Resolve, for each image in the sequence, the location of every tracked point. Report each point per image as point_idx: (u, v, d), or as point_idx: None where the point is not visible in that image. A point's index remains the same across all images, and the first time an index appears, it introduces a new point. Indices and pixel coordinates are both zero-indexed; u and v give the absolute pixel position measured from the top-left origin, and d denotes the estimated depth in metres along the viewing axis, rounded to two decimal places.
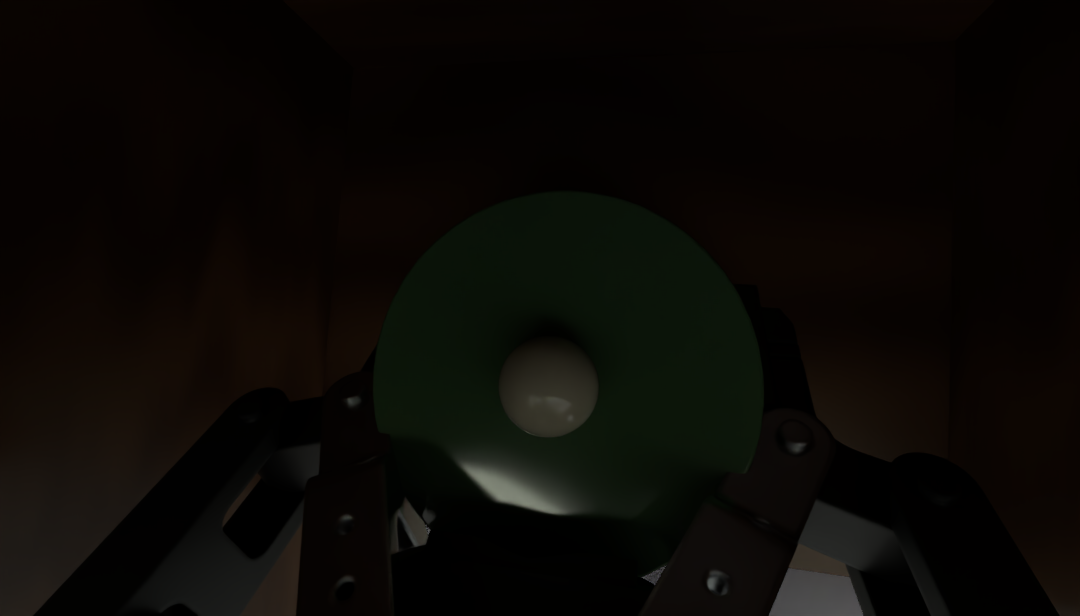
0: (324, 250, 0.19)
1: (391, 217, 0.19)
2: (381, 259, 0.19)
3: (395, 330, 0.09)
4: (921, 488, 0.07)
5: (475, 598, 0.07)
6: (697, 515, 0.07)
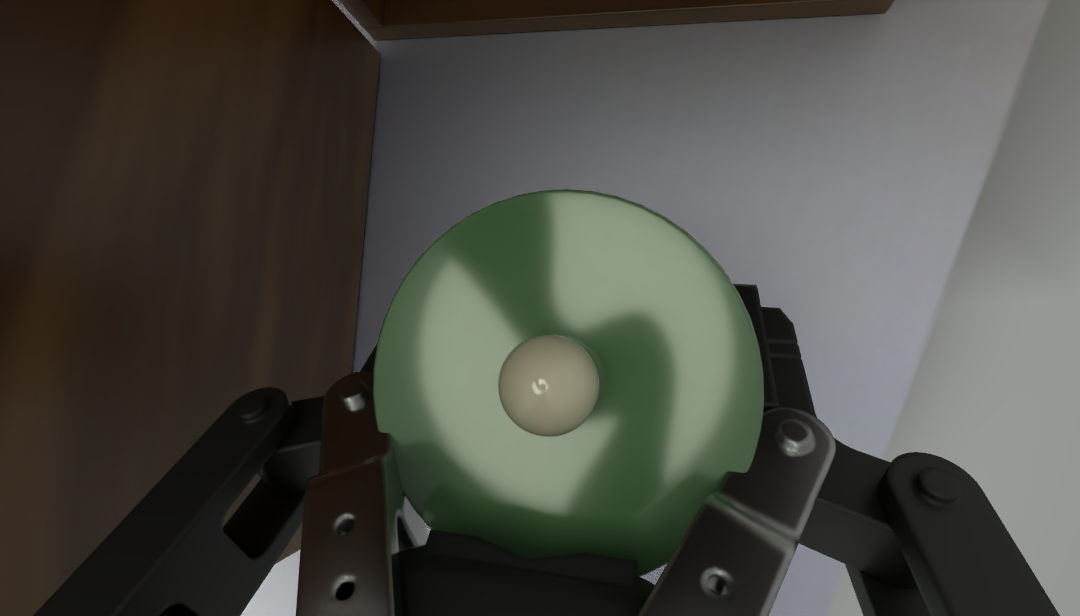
0: None
1: None
2: None
3: (395, 329, 0.09)
4: (921, 488, 0.07)
5: (475, 598, 0.07)
6: (697, 515, 0.07)
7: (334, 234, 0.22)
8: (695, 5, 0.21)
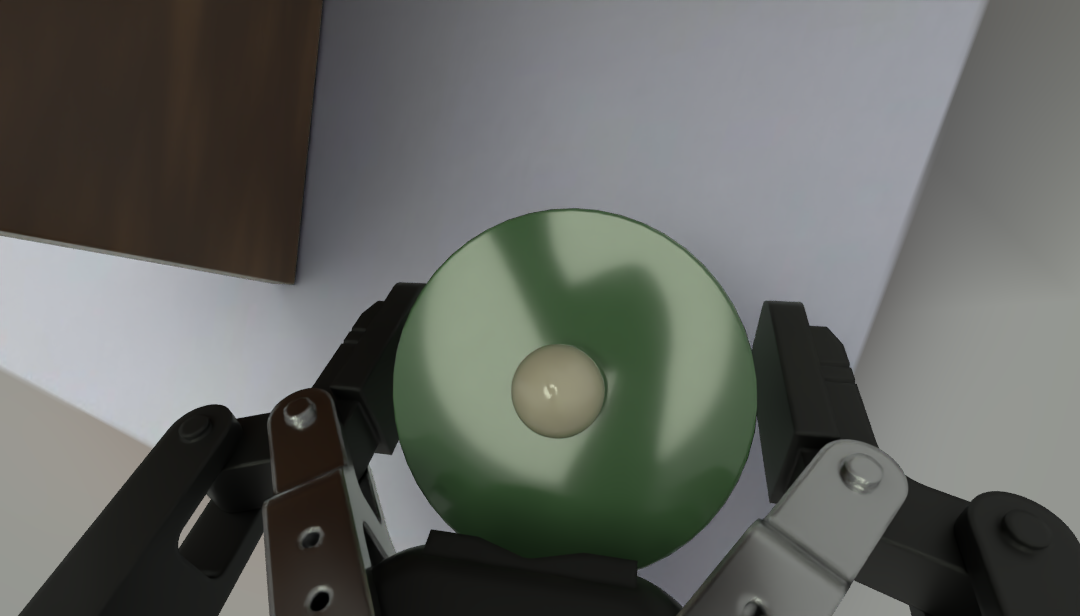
0: None
1: None
2: None
3: (413, 338, 0.10)
4: (1008, 532, 0.07)
5: (475, 598, 0.07)
6: (742, 538, 0.07)
7: None
8: None
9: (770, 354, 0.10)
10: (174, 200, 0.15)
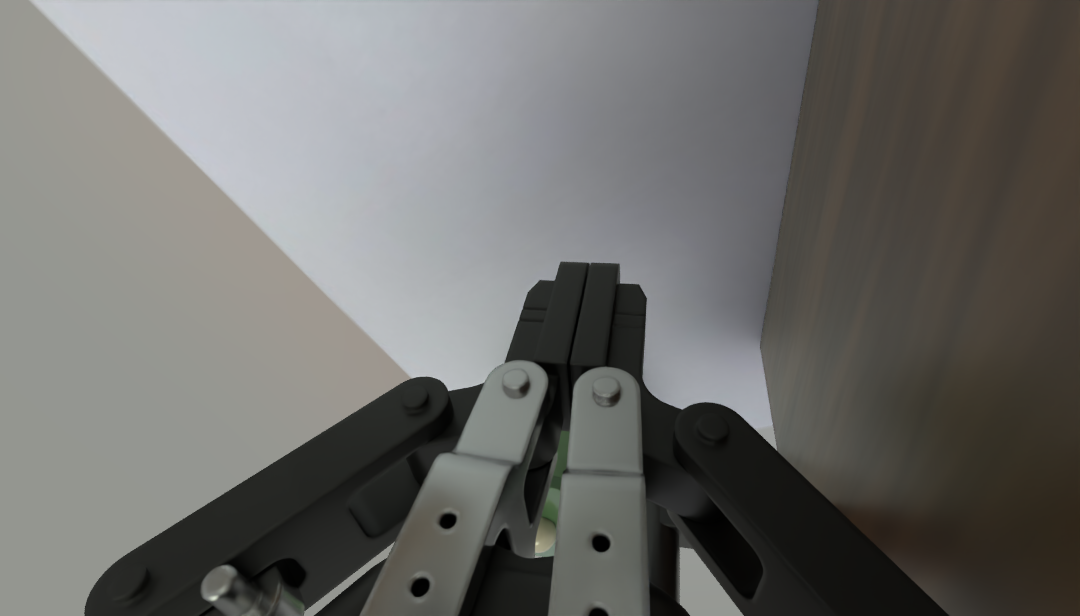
0: None
1: None
2: None
3: None
4: (698, 430, 0.09)
5: (475, 598, 0.07)
6: (561, 493, 0.07)
7: None
8: None
9: None
10: None
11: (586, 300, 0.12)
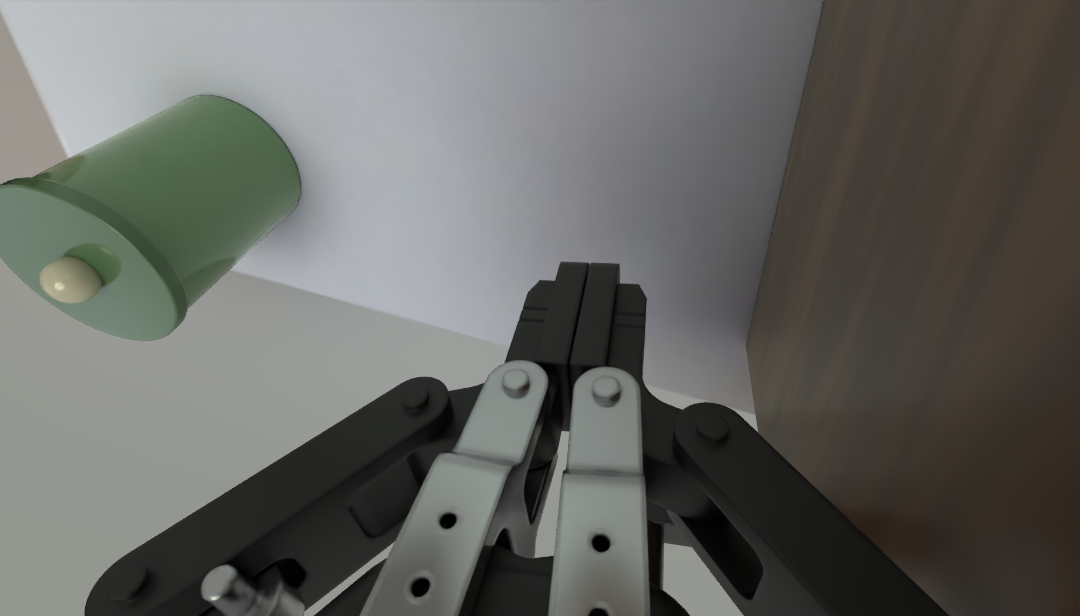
0: None
1: None
2: None
3: (37, 197, 0.16)
4: (698, 430, 0.09)
5: (475, 598, 0.07)
6: (561, 494, 0.07)
7: None
8: None
9: None
10: None
11: (586, 300, 0.12)
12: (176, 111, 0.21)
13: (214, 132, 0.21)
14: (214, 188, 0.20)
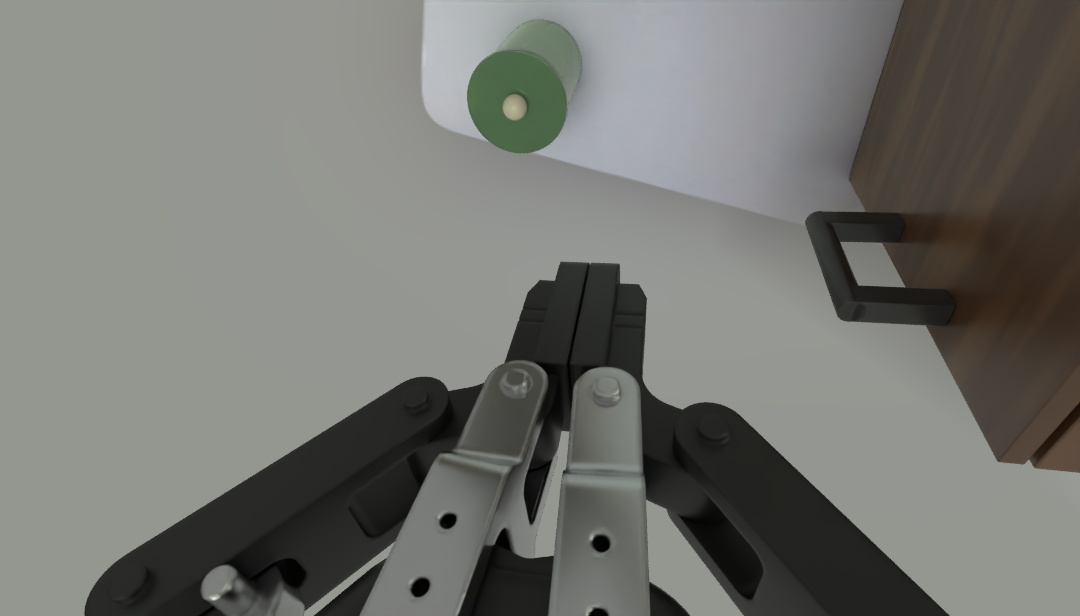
0: None
1: None
2: None
3: (521, 56, 0.32)
4: (698, 430, 0.09)
5: (475, 598, 0.07)
6: (561, 494, 0.07)
7: None
8: None
9: None
10: None
11: (586, 300, 0.12)
12: (535, 26, 0.36)
13: (559, 37, 0.36)
14: (568, 66, 0.35)
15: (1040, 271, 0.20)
